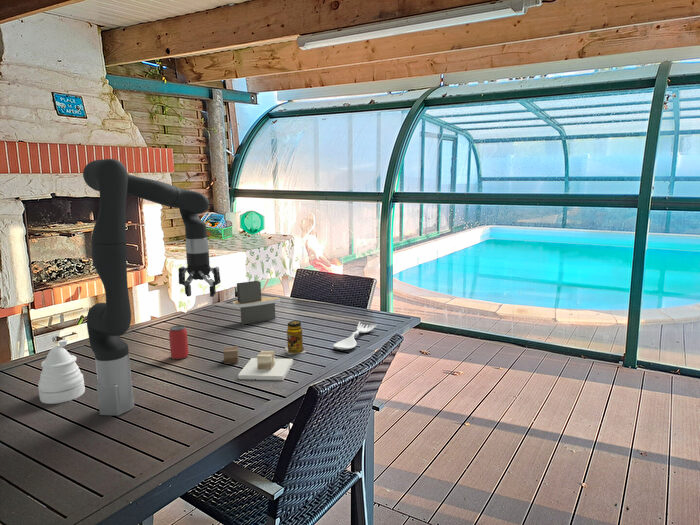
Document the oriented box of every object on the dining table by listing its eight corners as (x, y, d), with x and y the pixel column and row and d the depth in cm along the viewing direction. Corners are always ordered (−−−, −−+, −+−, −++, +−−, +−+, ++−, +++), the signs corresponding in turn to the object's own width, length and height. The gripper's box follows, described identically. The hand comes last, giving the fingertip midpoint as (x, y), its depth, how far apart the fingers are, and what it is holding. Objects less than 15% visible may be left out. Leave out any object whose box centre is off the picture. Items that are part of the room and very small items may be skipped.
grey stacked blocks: (284, 309, 259) (282, 272, 255) (304, 321, 238) (303, 281, 234) (211, 321, 240) (208, 282, 237) (225, 335, 219) (223, 292, 215)
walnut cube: (237, 363, 186) (237, 350, 185) (224, 364, 185) (223, 351, 184) (238, 358, 191) (238, 346, 190) (225, 359, 190) (224, 347, 189)
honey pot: (75, 383, 170) (69, 333, 167) (91, 393, 162) (85, 341, 159) (33, 396, 161) (26, 343, 157) (49, 407, 153) (41, 352, 149)
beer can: (183, 360, 189) (180, 330, 187) (167, 359, 191) (165, 329, 188) (191, 354, 196) (189, 325, 194) (176, 353, 197) (174, 324, 195)
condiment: (288, 355, 193) (287, 325, 191) (284, 347, 201) (283, 319, 199) (306, 352, 195) (305, 323, 193) (302, 345, 203) (301, 317, 201)
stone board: (283, 380, 170) (282, 376, 169) (238, 379, 171) (237, 374, 171) (293, 362, 185) (293, 358, 185) (251, 361, 187) (251, 357, 187)
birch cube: (271, 369, 175) (270, 356, 174) (257, 369, 176) (257, 355, 175) (275, 364, 180) (274, 351, 179) (261, 363, 181) (261, 350, 180)
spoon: (377, 330, 222) (377, 323, 222) (350, 354, 193) (349, 346, 193) (359, 328, 226) (359, 320, 225) (329, 351, 197) (329, 343, 196)
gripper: (172, 252, 168) (176, 298, 171) (213, 252, 166) (216, 299, 169) (182, 249, 175) (186, 293, 178) (221, 249, 174) (224, 293, 177)
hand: (200, 296), depth 174 cm, fingers open, 8 cm apart
